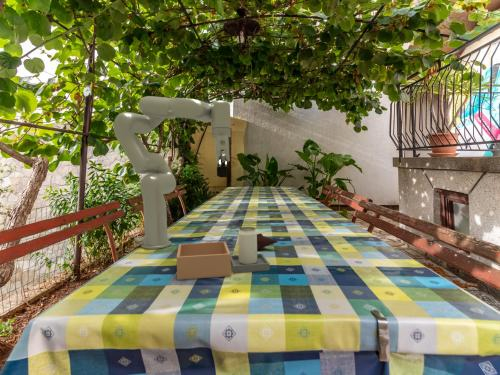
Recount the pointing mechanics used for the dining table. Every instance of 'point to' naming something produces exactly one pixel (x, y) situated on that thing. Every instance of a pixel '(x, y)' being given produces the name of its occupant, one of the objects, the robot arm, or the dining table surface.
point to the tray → (258, 266)
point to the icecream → (264, 241)
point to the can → (247, 245)
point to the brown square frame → (203, 260)
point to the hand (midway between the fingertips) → (221, 176)
